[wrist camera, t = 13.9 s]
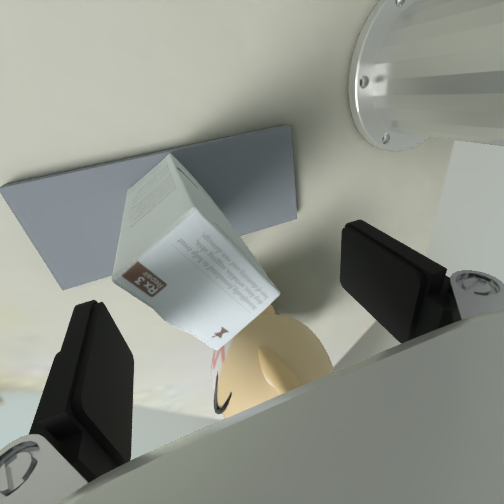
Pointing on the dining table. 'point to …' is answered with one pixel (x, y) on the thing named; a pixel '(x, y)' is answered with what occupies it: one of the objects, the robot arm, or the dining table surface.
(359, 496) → the robot arm
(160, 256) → the skincare box
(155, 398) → the dining table surface
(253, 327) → the kitten
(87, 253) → the mat
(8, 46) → the dining table surface
